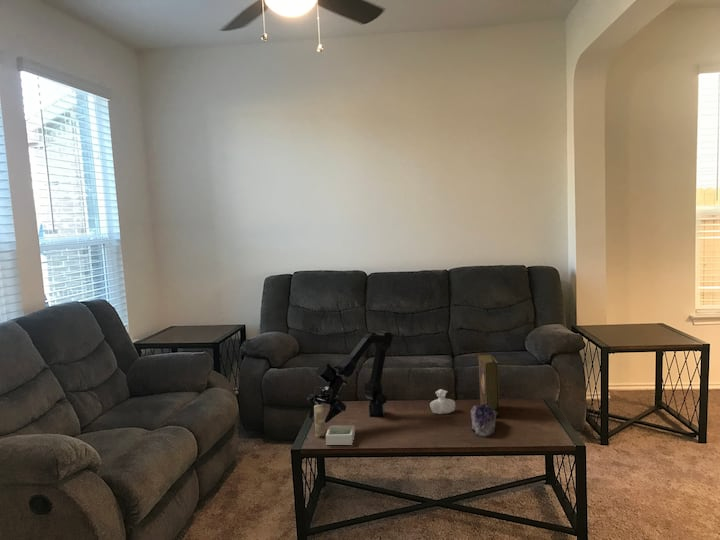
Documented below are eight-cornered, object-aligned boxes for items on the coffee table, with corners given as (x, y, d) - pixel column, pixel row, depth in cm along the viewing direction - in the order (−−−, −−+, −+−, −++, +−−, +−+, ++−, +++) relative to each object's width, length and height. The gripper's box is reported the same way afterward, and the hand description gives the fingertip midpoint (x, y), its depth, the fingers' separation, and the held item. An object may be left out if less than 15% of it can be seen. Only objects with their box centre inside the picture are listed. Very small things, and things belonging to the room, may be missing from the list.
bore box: (354, 435, 228) (354, 425, 227) (352, 445, 217) (351, 435, 217) (330, 436, 229) (329, 425, 228) (326, 446, 218) (325, 435, 218)
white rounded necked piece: (455, 415, 251) (450, 392, 258) (458, 409, 245) (453, 386, 251) (430, 417, 250) (426, 394, 257) (432, 412, 244) (428, 388, 250)
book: (479, 405, 256) (477, 354, 254) (491, 405, 256) (489, 353, 254) (487, 418, 240) (485, 362, 238) (499, 417, 239) (497, 362, 238)
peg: (326, 434, 231) (324, 404, 230) (322, 437, 227) (321, 407, 226) (317, 433, 232) (316, 404, 231) (314, 437, 228) (312, 407, 227)
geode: (501, 438, 217) (497, 415, 216) (472, 441, 219) (468, 418, 218) (498, 418, 237) (494, 396, 236) (471, 421, 239) (467, 400, 238)
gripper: (308, 375, 237) (291, 407, 230) (340, 381, 225) (323, 415, 218) (321, 388, 244) (306, 419, 236) (353, 395, 232) (337, 428, 224)
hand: (317, 420), depth 228 cm, fingers open, 9 cm apart
